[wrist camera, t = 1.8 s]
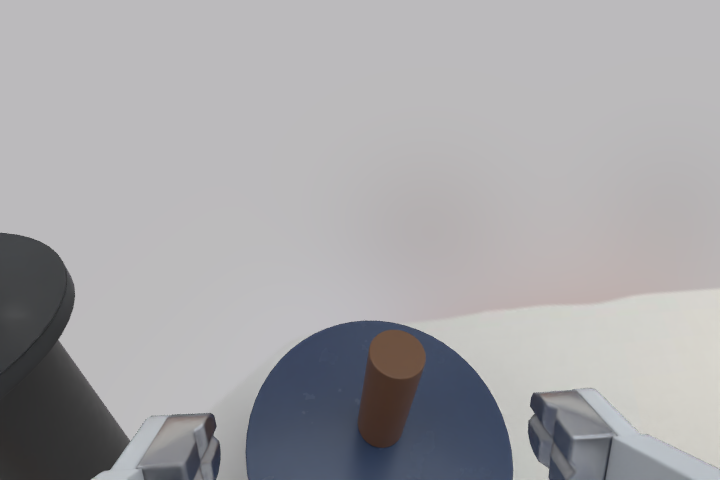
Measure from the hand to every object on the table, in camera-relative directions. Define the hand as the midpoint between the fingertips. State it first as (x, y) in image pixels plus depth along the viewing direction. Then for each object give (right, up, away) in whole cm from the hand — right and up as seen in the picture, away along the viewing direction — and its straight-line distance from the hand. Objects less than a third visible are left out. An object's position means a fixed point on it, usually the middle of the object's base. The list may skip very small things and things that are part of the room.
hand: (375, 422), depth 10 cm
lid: (+1, -6, +12) cm, 14 cm away
